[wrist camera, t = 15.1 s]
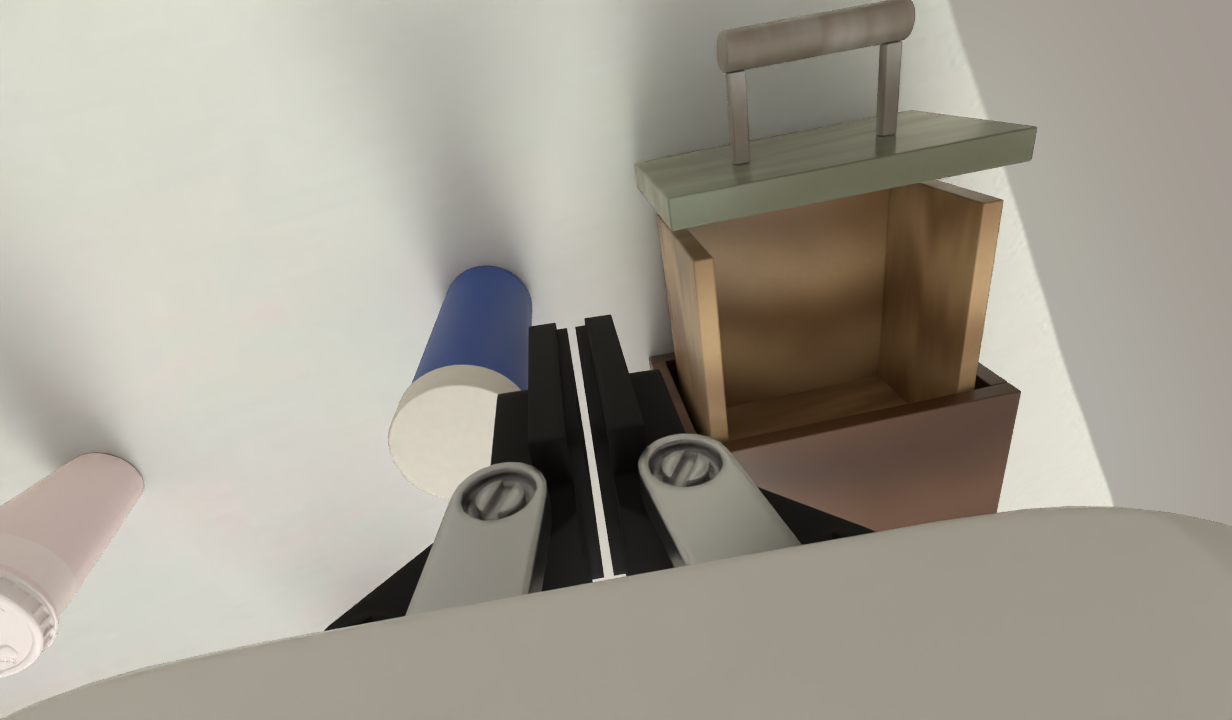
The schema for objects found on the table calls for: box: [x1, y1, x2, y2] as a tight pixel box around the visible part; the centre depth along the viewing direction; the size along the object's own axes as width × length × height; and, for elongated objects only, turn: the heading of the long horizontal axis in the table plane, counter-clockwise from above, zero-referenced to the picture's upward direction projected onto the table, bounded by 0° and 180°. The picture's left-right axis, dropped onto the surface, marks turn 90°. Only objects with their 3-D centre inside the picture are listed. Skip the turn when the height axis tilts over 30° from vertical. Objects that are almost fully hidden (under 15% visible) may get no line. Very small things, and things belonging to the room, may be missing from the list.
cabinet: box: [649, 352, 1021, 532], centre depth 32 cm, size 16×15×10 cm
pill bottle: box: [388, 266, 532, 499], centre depth 25 cm, size 5×5×12 cm
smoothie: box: [0, 453, 144, 678], centre depth 26 cm, size 6×6×14 cm
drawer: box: [634, 0, 1037, 443], centre depth 26 cm, size 19×13×8 cm
